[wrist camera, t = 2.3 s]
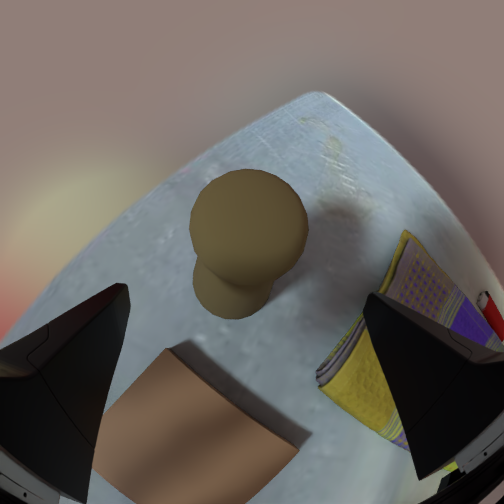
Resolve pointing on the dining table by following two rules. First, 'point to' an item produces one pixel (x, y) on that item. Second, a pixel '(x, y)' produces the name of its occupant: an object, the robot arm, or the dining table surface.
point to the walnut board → (185, 441)
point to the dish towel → (362, 352)
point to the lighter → (491, 314)
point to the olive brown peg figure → (244, 240)
